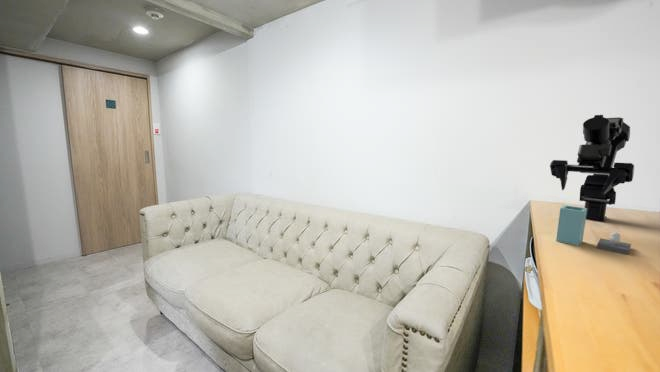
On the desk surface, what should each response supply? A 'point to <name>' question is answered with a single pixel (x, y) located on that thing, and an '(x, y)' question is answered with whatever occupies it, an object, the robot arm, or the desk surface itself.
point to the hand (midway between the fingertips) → (581, 191)
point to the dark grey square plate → (614, 244)
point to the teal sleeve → (571, 225)
